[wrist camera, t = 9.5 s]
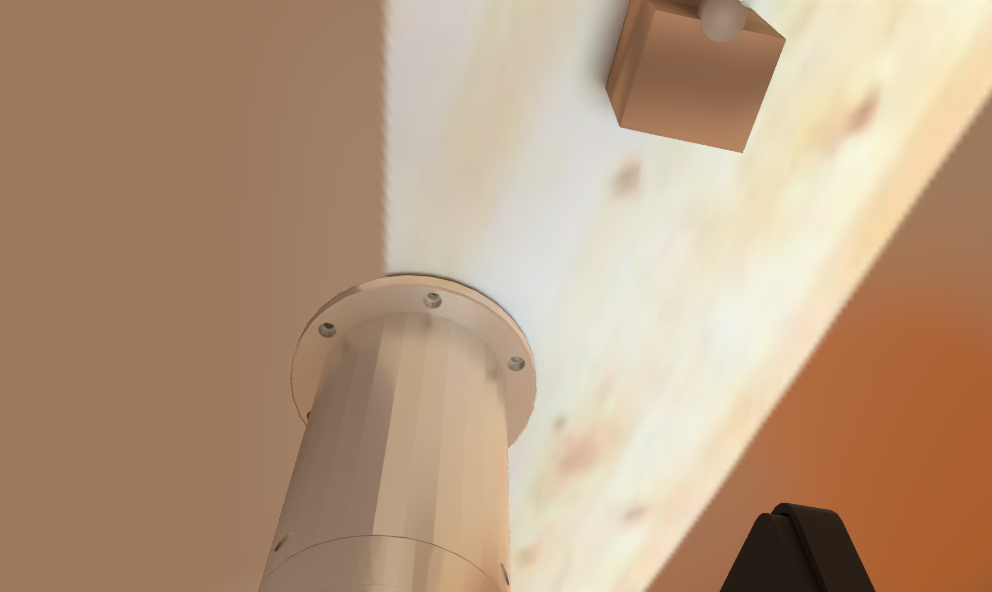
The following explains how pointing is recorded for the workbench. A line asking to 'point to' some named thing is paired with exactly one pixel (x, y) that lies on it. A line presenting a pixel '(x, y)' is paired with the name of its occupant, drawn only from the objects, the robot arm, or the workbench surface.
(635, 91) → the pivot block
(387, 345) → the robot arm
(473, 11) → the workbench surface
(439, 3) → the workbench surface
